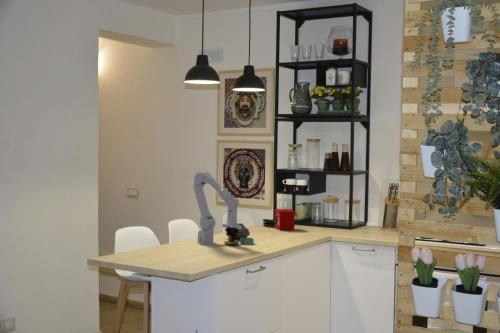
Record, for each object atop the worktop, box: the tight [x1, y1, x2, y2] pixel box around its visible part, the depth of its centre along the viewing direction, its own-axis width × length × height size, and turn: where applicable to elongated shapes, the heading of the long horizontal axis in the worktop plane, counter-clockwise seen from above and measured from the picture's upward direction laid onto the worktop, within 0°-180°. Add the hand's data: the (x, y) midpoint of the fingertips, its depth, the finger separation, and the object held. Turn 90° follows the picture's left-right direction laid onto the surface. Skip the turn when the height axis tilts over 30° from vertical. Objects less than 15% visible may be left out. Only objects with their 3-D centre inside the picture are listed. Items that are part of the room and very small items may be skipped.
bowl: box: [239, 237, 254, 246], centre depth 375 cm, size 8×8×4 cm
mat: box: [222, 243, 242, 248], centre depth 369 cm, size 10×10×1 cm
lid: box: [223, 235, 240, 245], centre depth 369 cm, size 9×9×5 cm
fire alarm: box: [274, 208, 295, 232], centre depth 451 cm, size 16×11×15 cm
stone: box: [225, 222, 251, 241], centre depth 395 cm, size 18×10×15 cm
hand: (231, 240), depth 369 cm, fingers closed on lid
